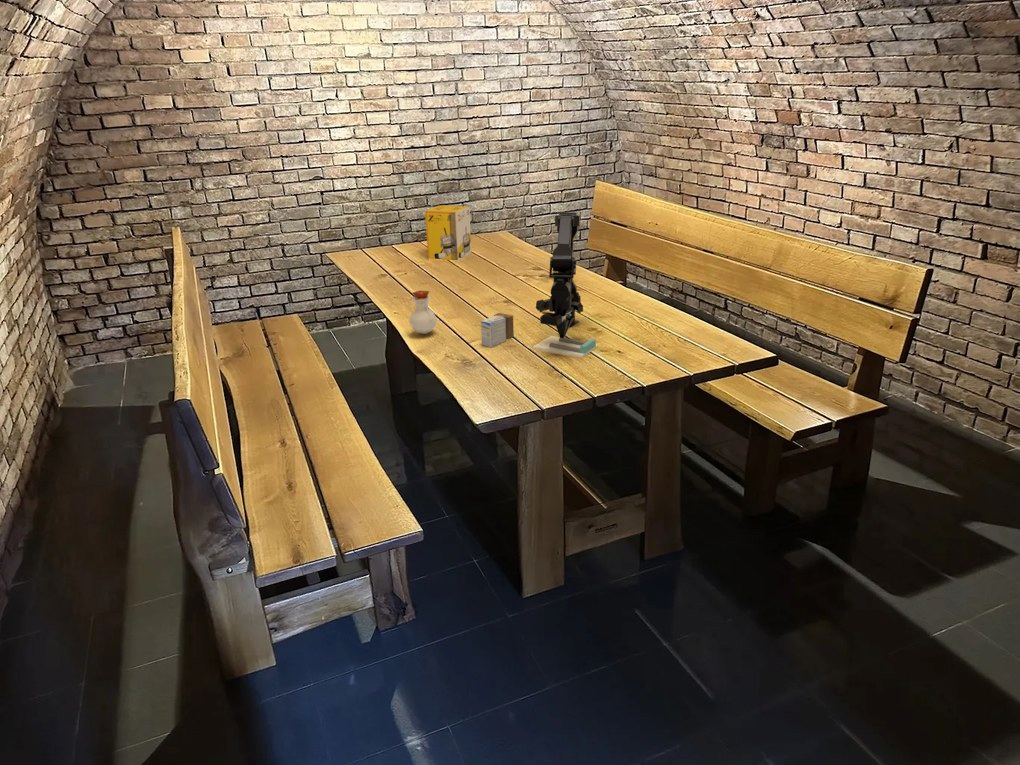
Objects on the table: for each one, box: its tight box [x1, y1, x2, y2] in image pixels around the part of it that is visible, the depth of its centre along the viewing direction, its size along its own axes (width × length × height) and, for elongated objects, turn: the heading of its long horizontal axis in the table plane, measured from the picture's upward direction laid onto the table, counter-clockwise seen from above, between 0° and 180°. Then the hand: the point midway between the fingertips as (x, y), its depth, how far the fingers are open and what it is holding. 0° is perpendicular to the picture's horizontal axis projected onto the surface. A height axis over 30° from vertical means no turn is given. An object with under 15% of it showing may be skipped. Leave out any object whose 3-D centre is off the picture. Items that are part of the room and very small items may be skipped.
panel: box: [493, 312, 515, 340], centre depth 252 cm, size 3×8×6 cm
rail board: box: [532, 335, 599, 359], centre depth 241 cm, size 12×18×4 cm, turn 57°
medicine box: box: [480, 315, 507, 348], centre depth 247 cm, size 8×4×9 cm, turn 141°
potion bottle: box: [409, 290, 437, 335], centre depth 256 cm, size 9×10×15 cm
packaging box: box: [424, 205, 472, 260], centre depth 359 cm, size 16×16×25 cm
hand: (562, 338), depth 241 cm, fingers closed
